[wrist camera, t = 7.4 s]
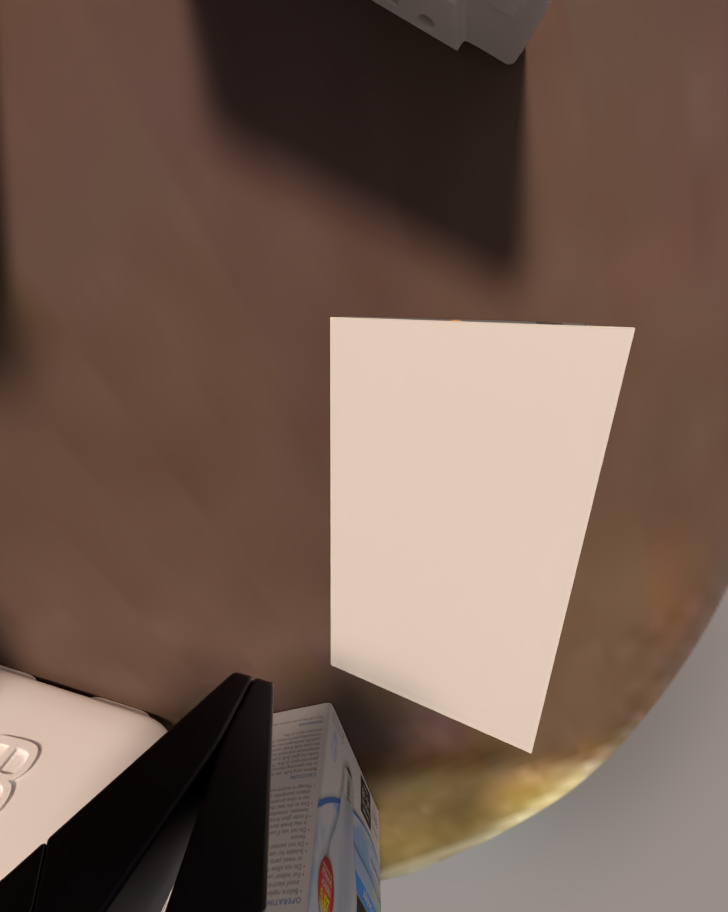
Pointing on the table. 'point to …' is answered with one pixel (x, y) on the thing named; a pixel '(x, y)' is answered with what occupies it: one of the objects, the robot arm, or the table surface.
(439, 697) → the white rectangular panel
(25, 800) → the cable organizer
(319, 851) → the light bulb box
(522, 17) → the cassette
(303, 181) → the table surface
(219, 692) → the robot arm
